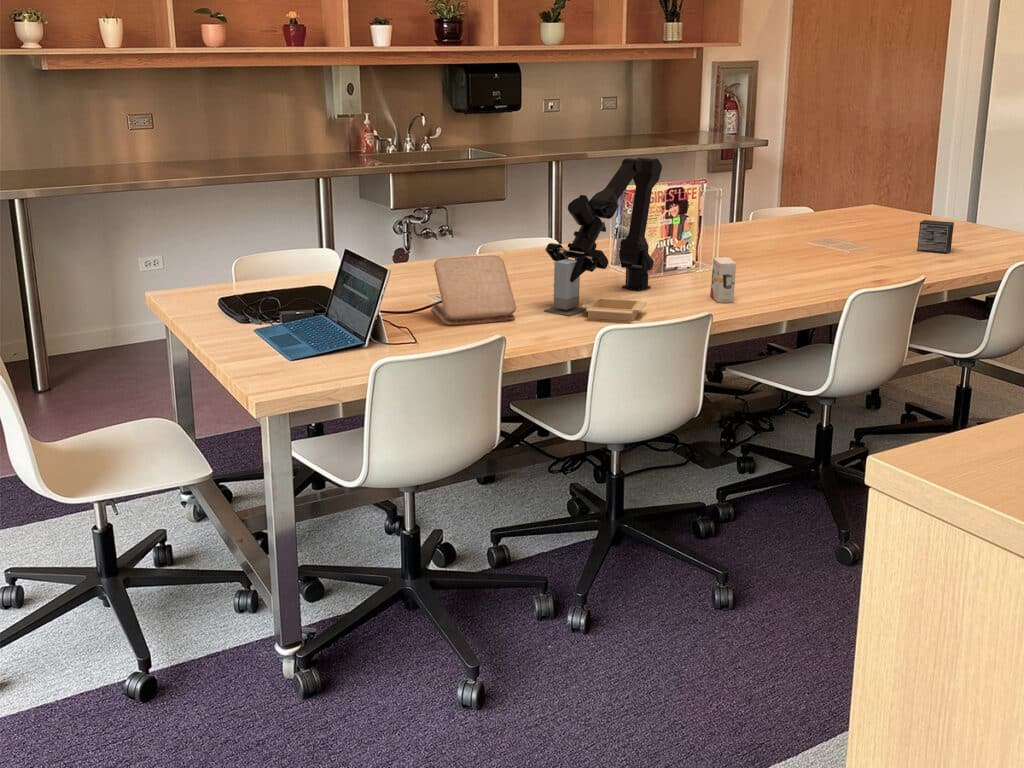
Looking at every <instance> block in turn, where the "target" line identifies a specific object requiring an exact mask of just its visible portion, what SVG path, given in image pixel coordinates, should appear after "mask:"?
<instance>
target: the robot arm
mask: <svg viewBox="0 0 1024 768" xmlns="http://www.w3.org/2000/svg"><path fill="white" fill-rule="evenodd" d="M662 170H663V165H662V163H661V162H660V160H659V159H658V158H652V157H642V156H639V157H638V156H637V158H632V157H627V158H624V159H622V161H621V164H620V167H619V168H618V170H617V171H616V172H615V174H614V175H613V177H612V178H611V179H610V181H608V183H607V185H606V187H604V189H602V190H600V191H598V192H596V193H595V194H594V195H593V196H592V197H591V198H590V199H589V198H588V195H587V194H586V195H584V194H580V195H579V197H577V198H576V197H575V199H573V200H572V201H570V202H569V204H568V205H567V210H568V213H569V215H570V216H571V217H572V218H573V220H574V221H575V223H576V224H577V225H578V226H580V227H579V229H578V231H576V230H575V231H573V235H574V239H573V240H572V242H571V243H570V242H569V243H568V244H567V248H568V250H567V249H565V248H564V247H563V246H562V244H559V243H555V242H554V243H553V242H550V243H548V244H547V246H546V247H545V249H544V250H545V252H546V253H547V254H548V255H549V257H550V258H551V260H552V261H553V262H556V261H560V260H564V259H574V260H577V261H576V264H575V267H574V269H573V272H572V275H571V278H570V281H571V282H574V281H575V280H576V279H577V278H578V277H579V276H580V277H581V276H582V275H583V274H584V273H585V272H586V271H588V272H591V273H593V272H594V271H595V270H596V269H602V270H606V269H607V267H608V266H609V259H608V257H607V255H606V254H605V253H604V252H603V250H601V249H597V243H596V241H597V239H598V238H599V236H600V233H601V232H603V233H606V232H607V227H606V224H605V223H606V222H604V221H602V219H608V220H610V219H612V218H614V217H613V216H615V213H616V212H617V210H618V208H619V199H620V197H621V196H622V194H624V192H625V190H626V189H627V188H628V186H629V185H630V184H631V182H632V180H633V182H634V186H635V188H634V189H635V191H634V197H633V203H632V210H631V217H630V222H629V223H630V224H629V229H628V235H627V236H626V237H625V238H622V239H621V240H620V244H619V245H620V246H619V250H618V257H619V262H620V267H621V268H623V269H625V284H623V285H622V286H621V287H622V288H623V289H628V290H631V291H641V290H642V291H643V290H646V289H650V288H651V287H652V286H651V285H649V274H648V272H649V271H651V270H652V269H653V268H654V260H653V258H652V257H651V256H650V254H649V244H648V241H647V238H646V230H647V225H648V219H649V210H650V205H651V199H652V198H651V197H652V192H653V189H654V187H655V186H656V184H658V182H659V181H660V177H661V173H662Z"/></svg>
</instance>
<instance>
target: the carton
mask: <svg viewBox="0 0 1024 768" xmlns="http://www.w3.org/2000/svg"><path fill="white" fill-rule="evenodd" d="M647 304H648V301H641V300H637V299H636V300H635V299H634V300H633V299H621V298H620V299H619V298H618V299H617V298H602V297H596V298H595V297H594V298H592V297H589V298H588V299H587V300H586V301H585V303H583V305H581V307H582V308H587V309H586V311H585V312H587V318H589V319H599V320H600V319H602V320H613V321H614V320H617V321H630V322H631V321H632V322H633V321H634V320H635V319H636V317H637V316H638V314H639V313H640V312H642V311H643V310H644V308H645V306H646V305H647Z"/></svg>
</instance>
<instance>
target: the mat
mask: <svg viewBox="0 0 1024 768" xmlns="http://www.w3.org/2000/svg"><path fill="white" fill-rule="evenodd" d="M586 309H587V308H582V306H577V307H574V308H570V309H567V310H565V309H560V308H555V307H554V306H553V307H550V308H546V309H544V310H543V312H545V313H549V314H550V313H551V314H554V315H560V316H565V317H572V316H575V315H578V314H581V313H584V312H587V311H586Z"/></svg>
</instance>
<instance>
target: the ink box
mask: <svg viewBox="0 0 1024 768" xmlns="http://www.w3.org/2000/svg"><path fill="white" fill-rule="evenodd" d="M712 258H713V259H712V260H713V261H712V268H711V269H712V270H711V271H712V272H711V283H710V292H709V293H710V294H709V296H710V297H711V298H712V299H714V300H715V301H716V302H717V303H723V304H724V303H732V304H733V303H734V300H735V286H736V285H735V284H736V271H737V262H735V261H734V259H732V258H730V257H724V256H723V257H712Z"/></svg>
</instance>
